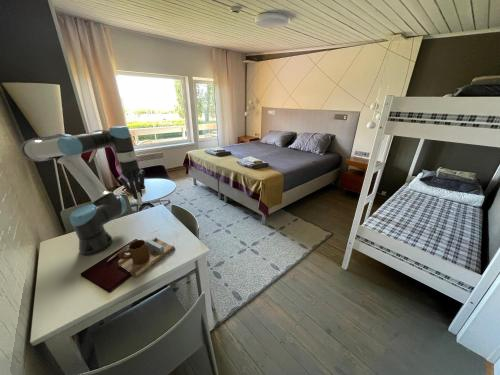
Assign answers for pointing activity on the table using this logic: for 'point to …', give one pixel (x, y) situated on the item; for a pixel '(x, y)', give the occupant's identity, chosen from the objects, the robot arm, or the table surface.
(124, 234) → the table surface
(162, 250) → the bar
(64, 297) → the table surface
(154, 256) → the housing base
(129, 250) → the mug
